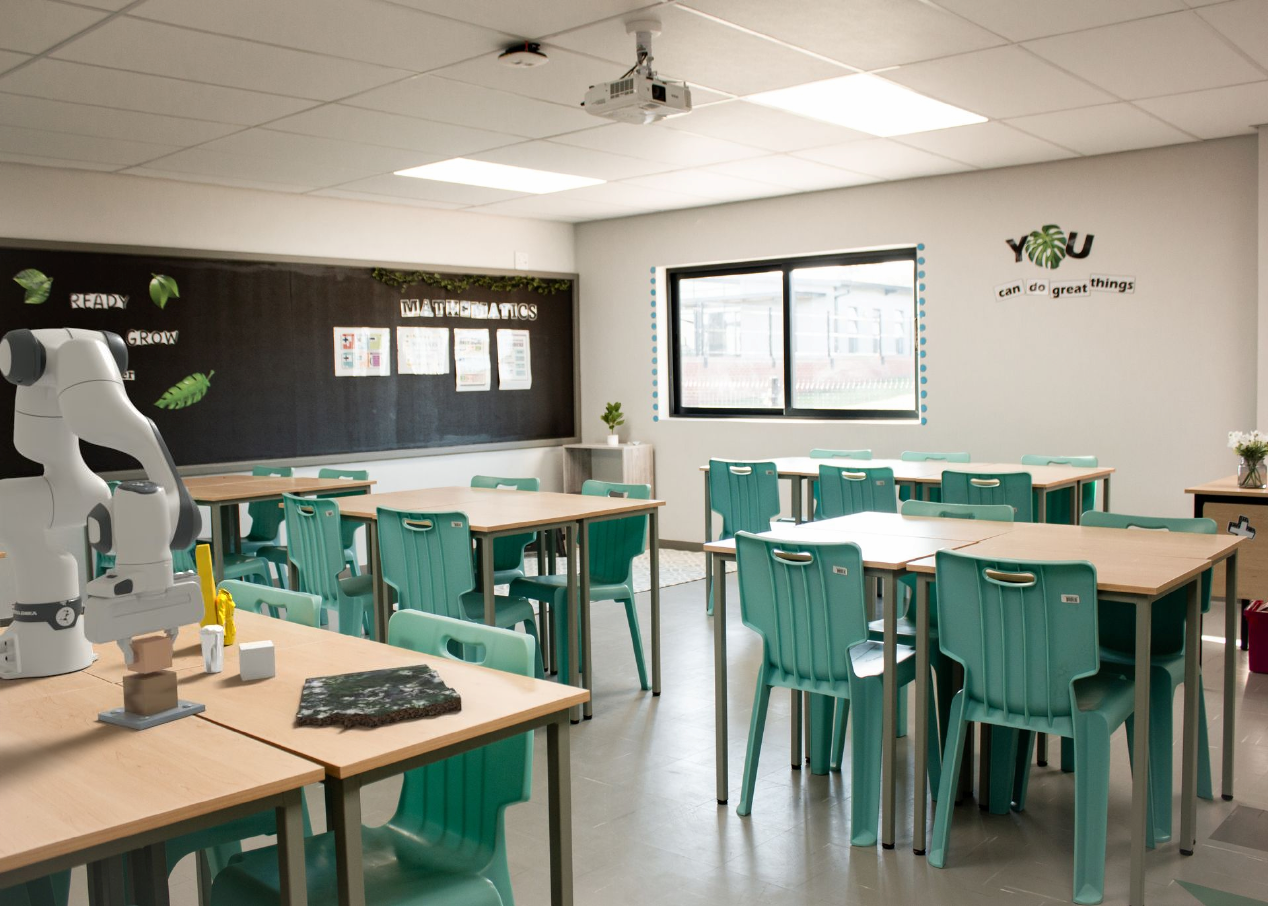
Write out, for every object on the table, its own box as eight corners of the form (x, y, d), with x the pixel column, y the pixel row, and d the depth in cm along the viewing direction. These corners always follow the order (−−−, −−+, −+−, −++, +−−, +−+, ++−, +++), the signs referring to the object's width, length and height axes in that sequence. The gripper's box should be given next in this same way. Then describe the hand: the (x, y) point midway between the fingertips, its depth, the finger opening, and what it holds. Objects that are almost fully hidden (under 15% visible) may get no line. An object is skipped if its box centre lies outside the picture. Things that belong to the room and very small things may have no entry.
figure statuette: (235, 650, 227) (229, 548, 226) (195, 654, 225) (190, 550, 224) (240, 633, 244) (235, 538, 243) (203, 636, 242) (198, 540, 241)
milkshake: (221, 674, 207) (218, 623, 207) (196, 674, 208) (194, 623, 208) (234, 668, 212) (232, 618, 211) (210, 668, 213) (207, 618, 212)
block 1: (127, 670, 180) (126, 640, 180) (154, 663, 184) (153, 634, 184) (145, 673, 177) (143, 643, 177) (172, 666, 181) (170, 637, 181)
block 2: (124, 711, 180) (122, 676, 180) (157, 702, 185) (155, 668, 185) (145, 716, 177) (143, 680, 177) (178, 706, 182) (176, 672, 182)
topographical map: (426, 672, 207) (425, 657, 206) (465, 717, 176) (464, 700, 176) (286, 689, 197) (285, 673, 197) (301, 740, 167) (301, 721, 166)
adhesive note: (239, 674, 208) (238, 643, 207) (272, 670, 210) (270, 639, 210) (242, 681, 202) (240, 649, 202) (275, 676, 205) (274, 645, 204)
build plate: (98, 719, 179) (97, 712, 179) (163, 701, 189) (162, 694, 189) (140, 729, 173) (140, 722, 173) (205, 710, 183) (205, 703, 183)
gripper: (188, 567, 190) (192, 644, 191) (76, 586, 173) (80, 670, 174) (210, 569, 187) (214, 647, 188) (98, 589, 170) (102, 675, 170)
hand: (149, 659), depth 181 cm, fingers closed on block 1, 5 cm apart
